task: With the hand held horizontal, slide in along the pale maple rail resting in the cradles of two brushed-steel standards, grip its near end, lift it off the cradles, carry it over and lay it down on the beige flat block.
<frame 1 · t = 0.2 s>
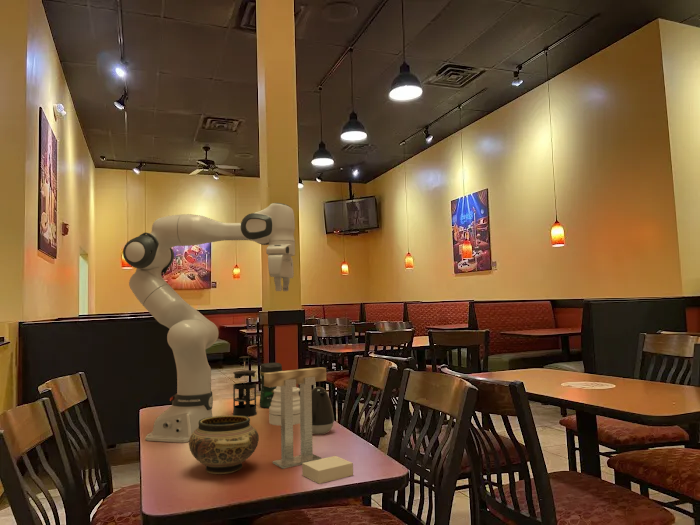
hand: (282, 291, 175), 48 cm above the table, fingers open, 8 cm apart
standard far: (306, 459, 143), on the table
coffee jar: (271, 406, 222), on the table
honey pot: (286, 422, 192), on the table
rail: (296, 383, 143), point 21 cm above the table, touching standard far, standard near
black tapered rounded piece: (319, 433, 174), on the table
ceramic bowl: (224, 469, 137), on the table
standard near: (287, 463, 140), on the table
french press: (244, 414, 207), on the table
beige flat block: (327, 475, 130), on the table
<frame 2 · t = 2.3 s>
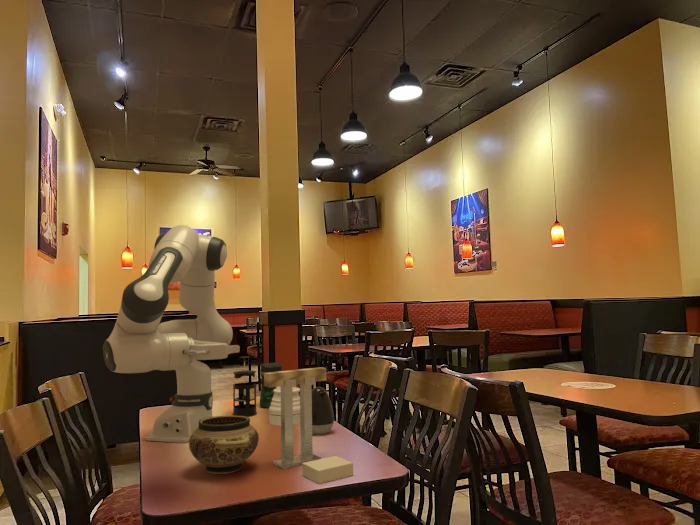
hand: (231, 347, 134), 32 cm above the table, fingers open, 8 cm apart
nothing on the table moved.
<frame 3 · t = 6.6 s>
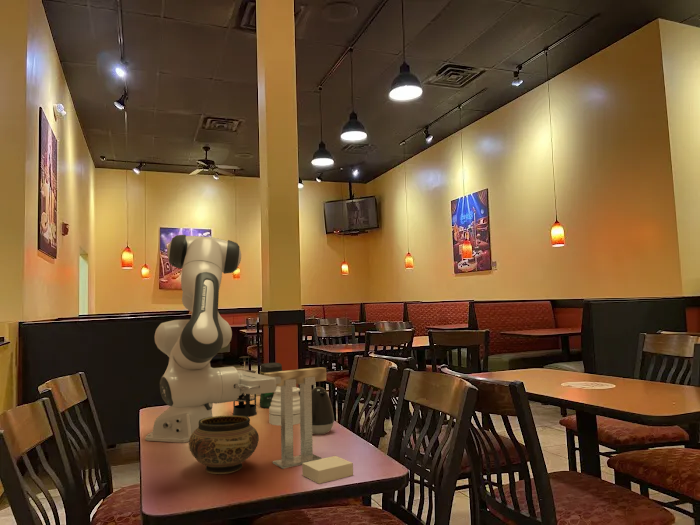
hand: (276, 378, 140), 23 cm above the table, fingers closed on rail, 3 cm apart
rail: (296, 383, 143), point 21 cm above the table, touching gripper, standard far
everything else where it was.
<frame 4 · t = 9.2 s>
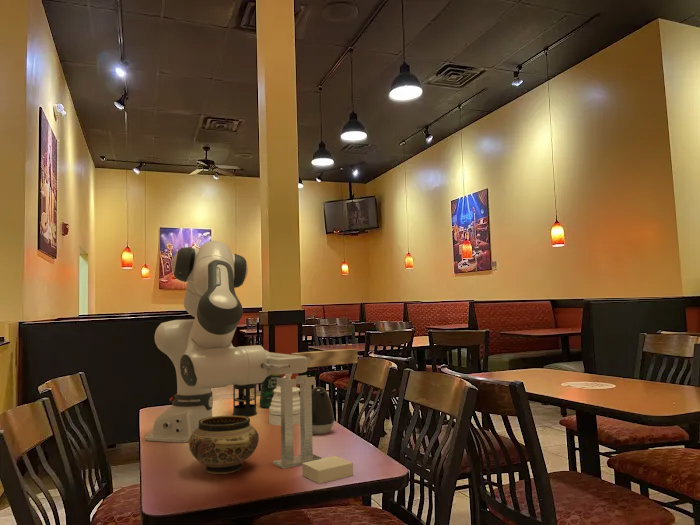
hand: (304, 359, 129), 29 cm above the table, fingers closed on rail, 3 cm apart
rail: (325, 365, 132), point 27 cm above the table, touching gripper
everything else where it was.
when the fingers open (6 cm above the table, at t = 12.2 s): rail drops 2 cm, resting on beige flat block.
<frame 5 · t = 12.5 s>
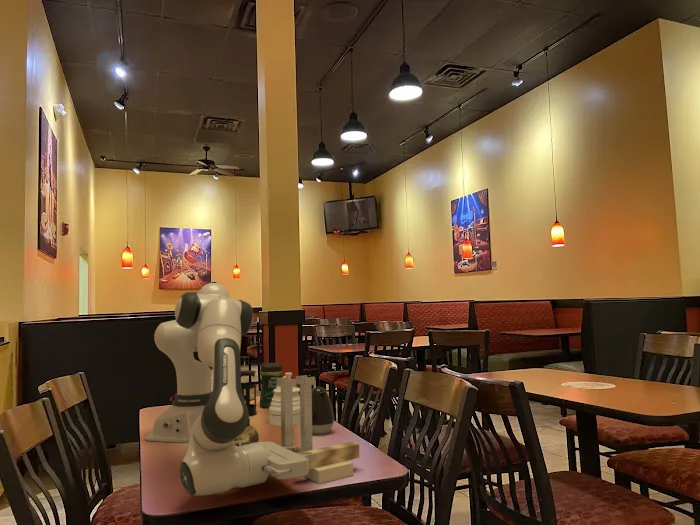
hand: (306, 453, 127), 6 cm above the table, fingers open, 5 cm apart
rail: (326, 463, 130), point 3 cm above the table, touching beige flat block
everything else where it was.
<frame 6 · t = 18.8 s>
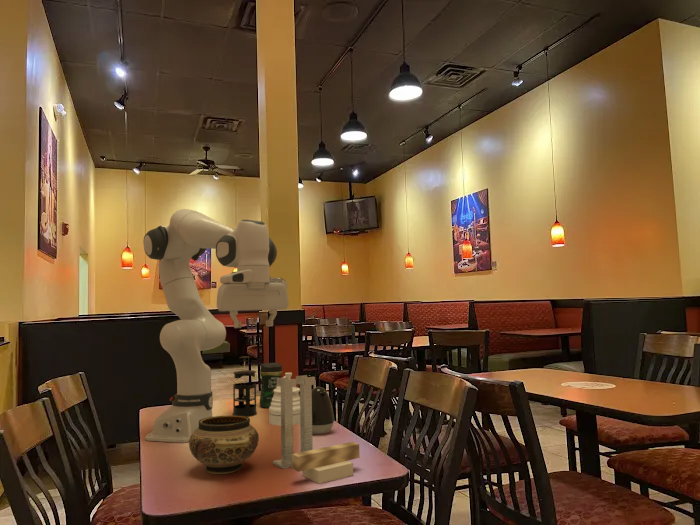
hand: (253, 327, 142), 37 cm above the table, fingers open, 8 cm apart
nothing on the table moved.
at the end: rail inside the target area on the beige flat block (0.1 cm from its centre), point 3.0 cm above the beige flat block's base; the gripper is holding nothing; rail moved 23.6 cm from its start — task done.
